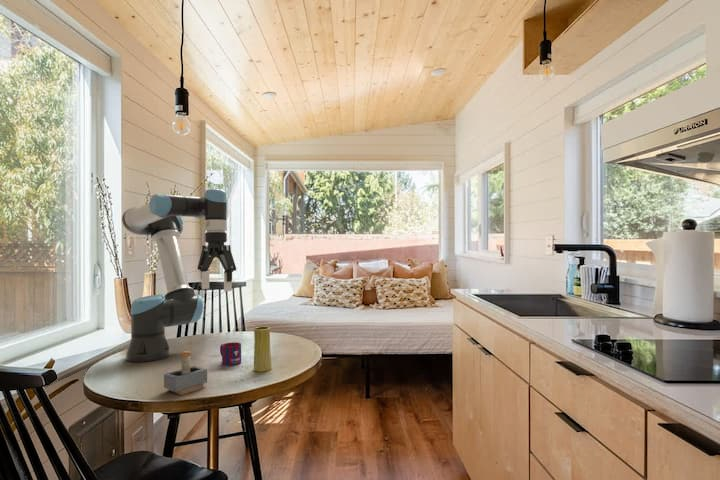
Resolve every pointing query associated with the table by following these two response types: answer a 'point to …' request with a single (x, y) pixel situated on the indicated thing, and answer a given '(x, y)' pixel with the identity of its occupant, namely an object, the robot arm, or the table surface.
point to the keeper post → (186, 369)
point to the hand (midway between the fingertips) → (216, 289)
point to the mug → (231, 353)
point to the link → (185, 379)
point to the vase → (262, 349)
